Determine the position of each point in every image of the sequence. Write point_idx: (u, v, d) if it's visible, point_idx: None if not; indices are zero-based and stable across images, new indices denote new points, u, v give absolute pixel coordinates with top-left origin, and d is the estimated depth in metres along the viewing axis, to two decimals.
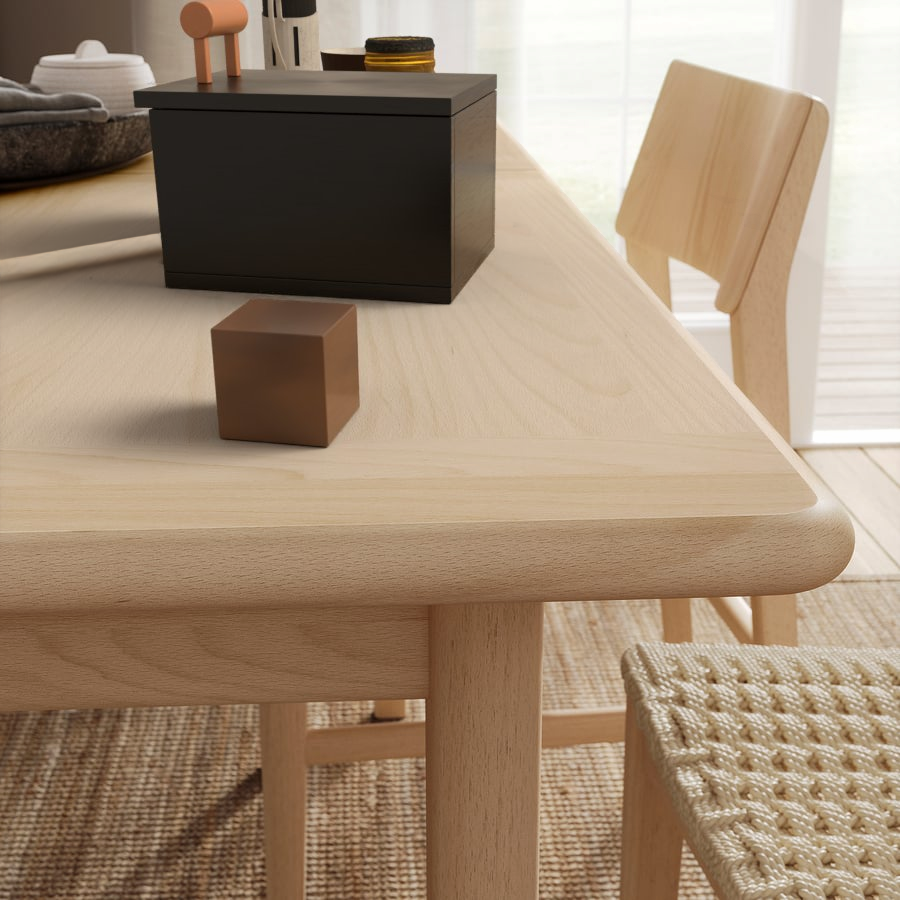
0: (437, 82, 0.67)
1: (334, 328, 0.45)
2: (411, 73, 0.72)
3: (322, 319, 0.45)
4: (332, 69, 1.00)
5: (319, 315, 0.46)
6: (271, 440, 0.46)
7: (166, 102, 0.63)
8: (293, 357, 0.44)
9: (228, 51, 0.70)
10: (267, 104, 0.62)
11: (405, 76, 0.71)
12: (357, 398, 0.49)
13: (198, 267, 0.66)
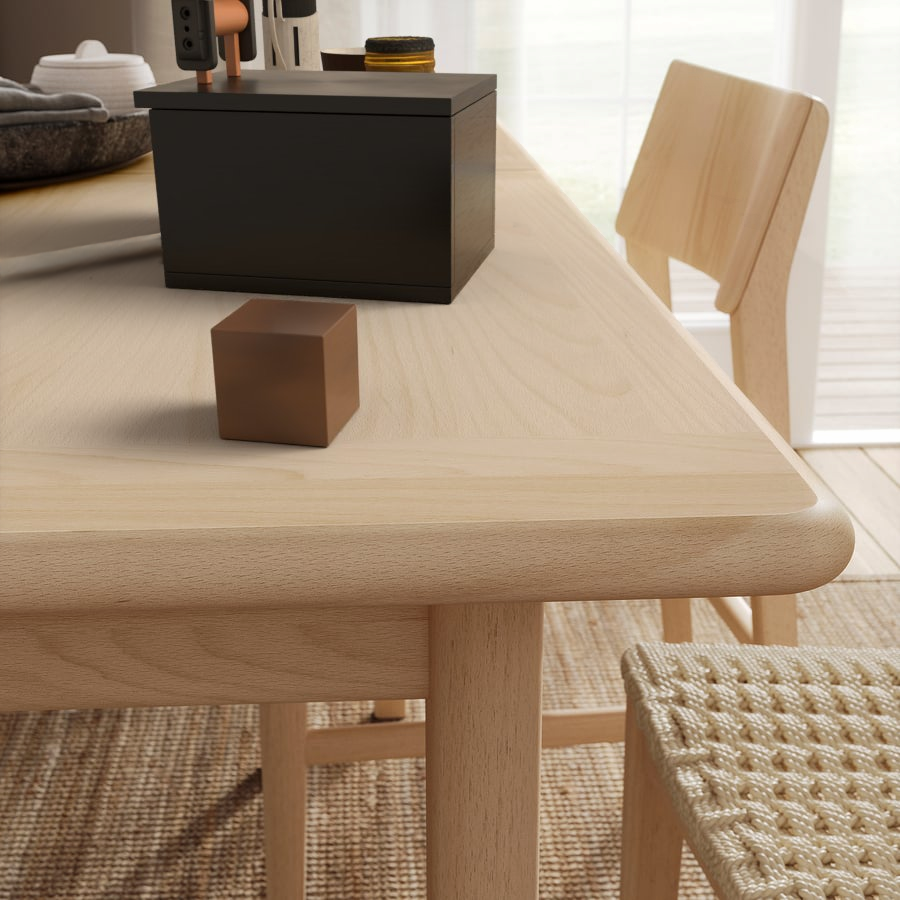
0: (437, 82, 0.67)
1: (334, 328, 0.45)
2: (411, 73, 0.72)
3: (322, 319, 0.45)
4: (332, 69, 1.00)
5: (319, 315, 0.46)
6: (271, 440, 0.46)
7: (166, 102, 0.63)
8: (293, 357, 0.44)
9: (228, 51, 0.70)
10: (267, 104, 0.62)
11: (405, 76, 0.71)
12: (357, 398, 0.49)
13: (198, 267, 0.66)
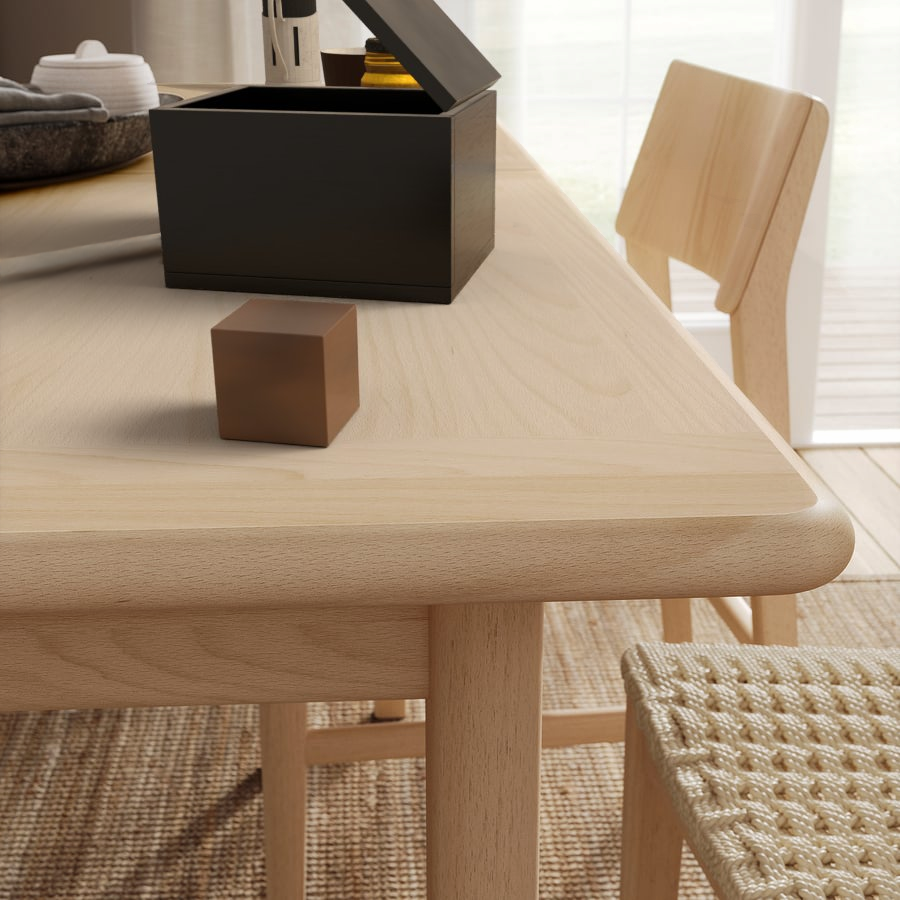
0: (455, 53, 0.66)
1: (334, 328, 0.45)
2: (440, 11, 0.71)
3: (322, 319, 0.45)
4: (332, 69, 1.00)
5: (319, 315, 0.46)
6: (271, 440, 0.46)
7: None
8: (293, 357, 0.44)
9: None
10: None
11: (435, 14, 0.69)
12: (357, 398, 0.49)
13: (198, 267, 0.66)
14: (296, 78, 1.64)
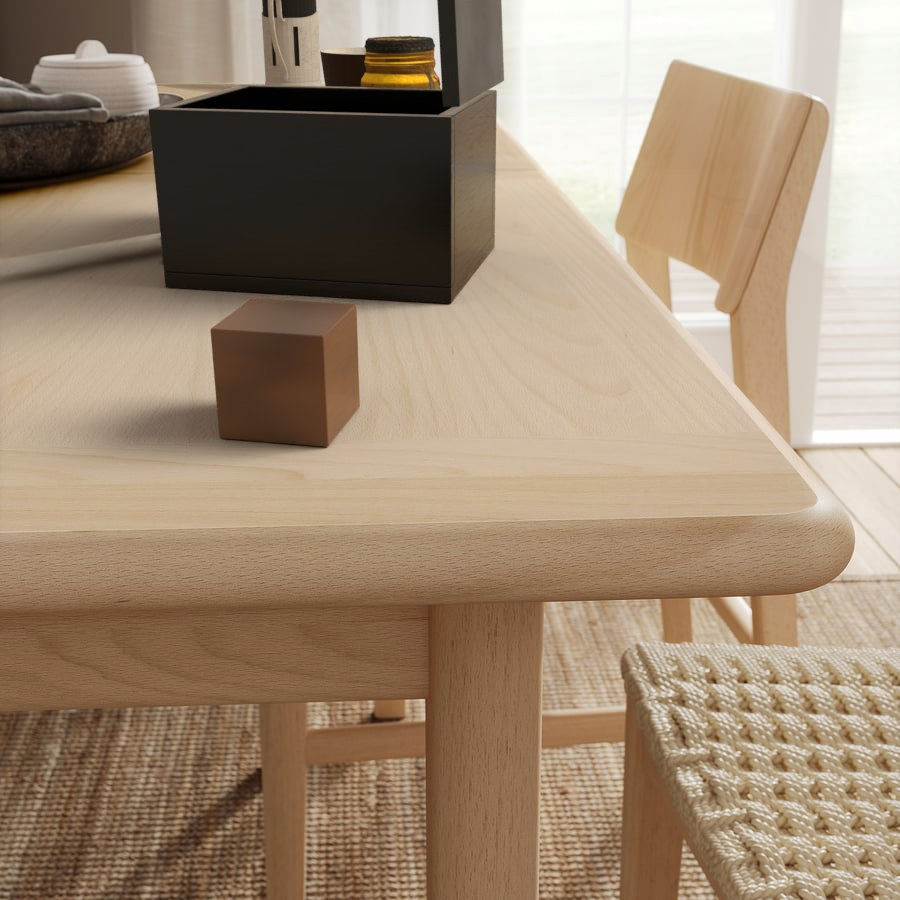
0: (485, 46, 0.66)
1: (334, 328, 0.45)
2: None
3: (322, 319, 0.45)
4: (332, 69, 1.00)
5: (319, 315, 0.46)
6: (271, 440, 0.46)
7: None
8: (293, 357, 0.44)
9: None
10: None
11: None
12: (357, 398, 0.49)
13: (198, 267, 0.66)
14: (296, 78, 1.64)
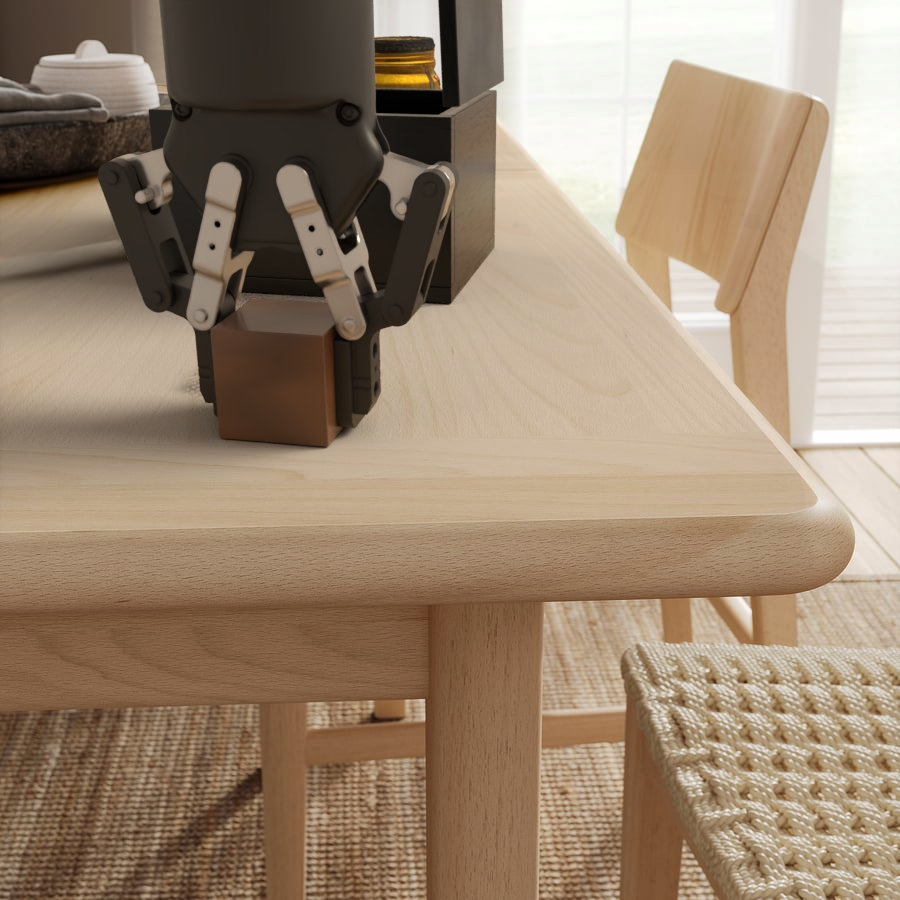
0: (485, 46, 0.66)
1: (334, 328, 0.45)
2: None
3: (322, 319, 0.45)
4: None
5: (319, 315, 0.46)
6: (271, 440, 0.46)
7: None
8: (293, 357, 0.44)
9: None
10: None
11: None
12: None
13: None
14: None
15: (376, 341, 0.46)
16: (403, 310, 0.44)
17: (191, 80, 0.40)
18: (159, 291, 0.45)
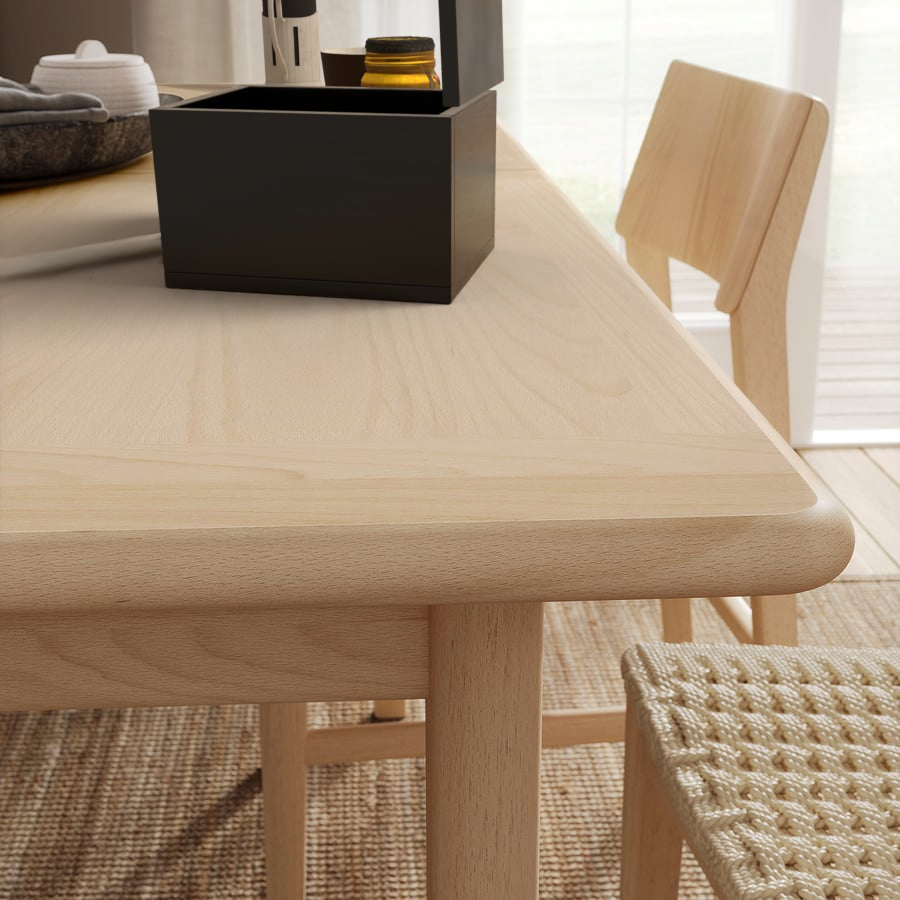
0: (485, 46, 0.66)
1: None
2: None
3: None
4: (332, 69, 1.00)
5: None
6: None
7: None
8: None
9: None
10: None
11: None
12: None
13: (198, 267, 0.66)
14: (296, 78, 1.64)
15: None
16: None
17: None
18: None
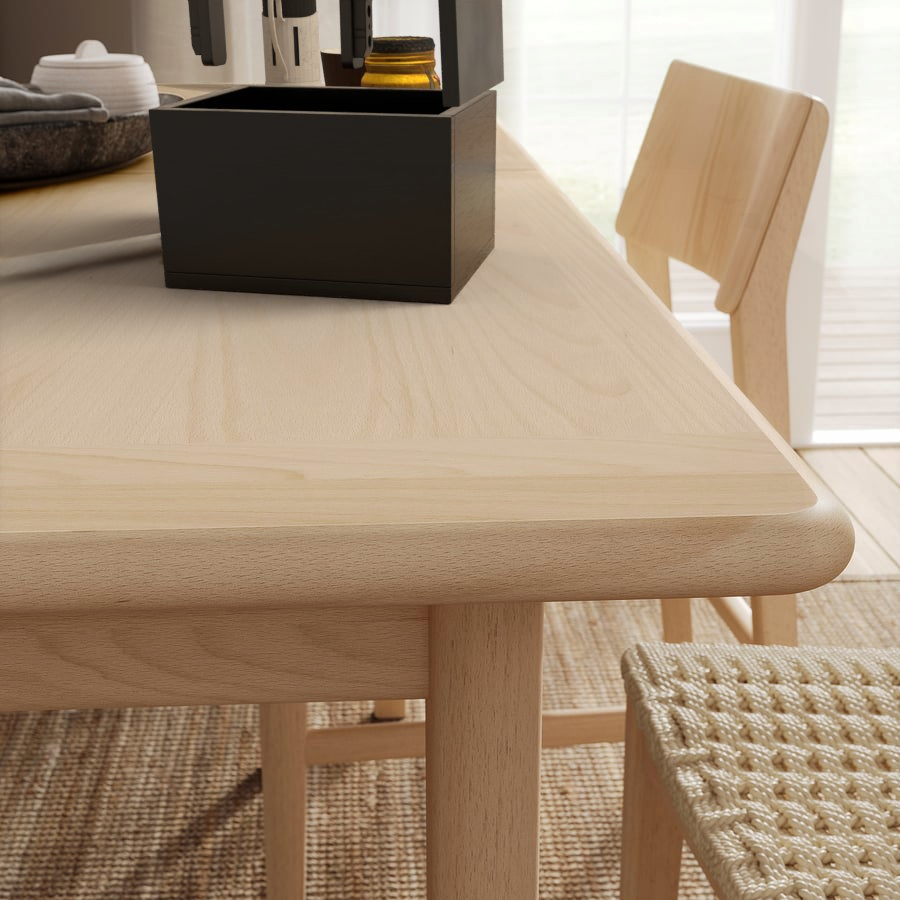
0: (485, 46, 0.66)
1: None
2: None
3: None
4: (332, 69, 1.00)
5: None
6: None
7: None
8: None
9: None
10: None
11: None
12: None
13: (198, 267, 0.66)
14: (296, 78, 1.64)
15: (369, 5, 0.66)
16: None
17: None
18: None
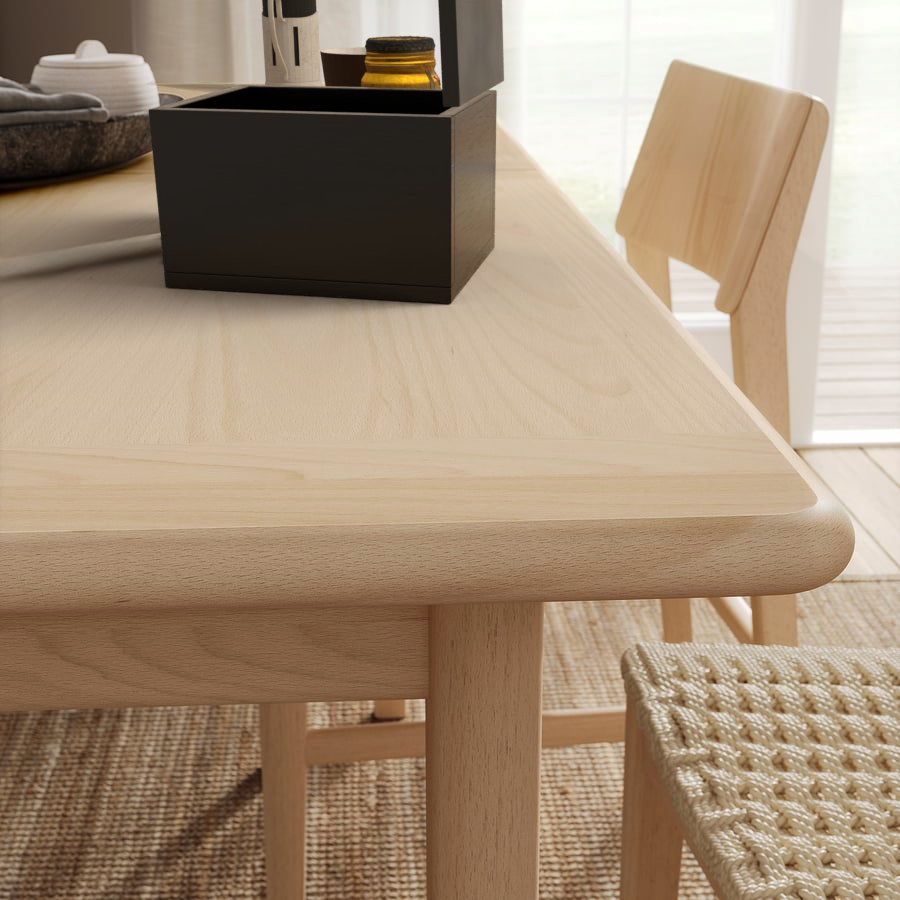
0: (485, 46, 0.66)
1: None
2: None
3: None
4: (332, 69, 1.00)
5: None
6: None
7: None
8: None
9: None
10: None
11: None
12: None
13: (198, 267, 0.66)
14: (296, 78, 1.64)
15: None
16: None
17: None
18: None
